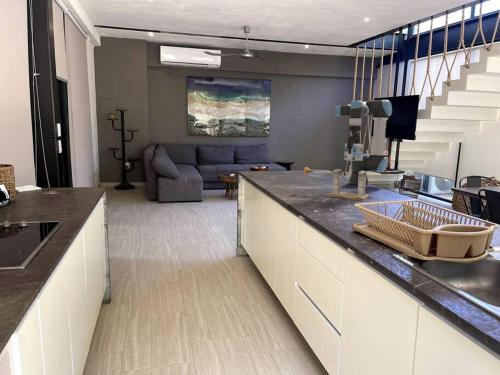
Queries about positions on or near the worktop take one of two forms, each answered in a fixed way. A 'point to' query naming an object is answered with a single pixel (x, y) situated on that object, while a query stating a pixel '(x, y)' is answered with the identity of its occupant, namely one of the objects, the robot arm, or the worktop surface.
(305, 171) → the lock shaft
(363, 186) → the cradle
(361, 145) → the light bulb box
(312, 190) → the worktop surface
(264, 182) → the worktop surface
